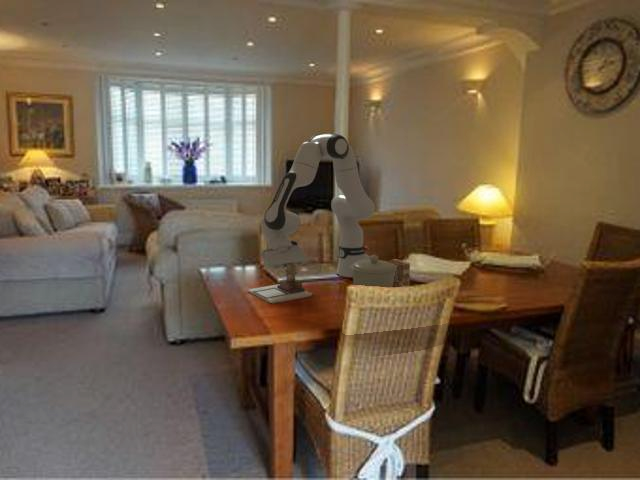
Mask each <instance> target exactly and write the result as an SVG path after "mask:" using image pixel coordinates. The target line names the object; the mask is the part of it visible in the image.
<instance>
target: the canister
mask: <svg viewBox="0 0 640 480" xmlns="http://www.w3.org/2000/svg"><path fill="white" fill-rule="evenodd" d="M369 257H370V258H369V259H370V260H361V261H357V262H355V263H354V264H352V265H351V268H352V271H353V277H352V280H353V281H352V282H353V286H354V285H365V286H380V287H393V281H394V275H395V271H396V270H397V267H396V266H395V265H393V264H392V263H390V261H386V260H382V259H379V256H378V255H376V254H371V255H370V256H369Z"/></svg>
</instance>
